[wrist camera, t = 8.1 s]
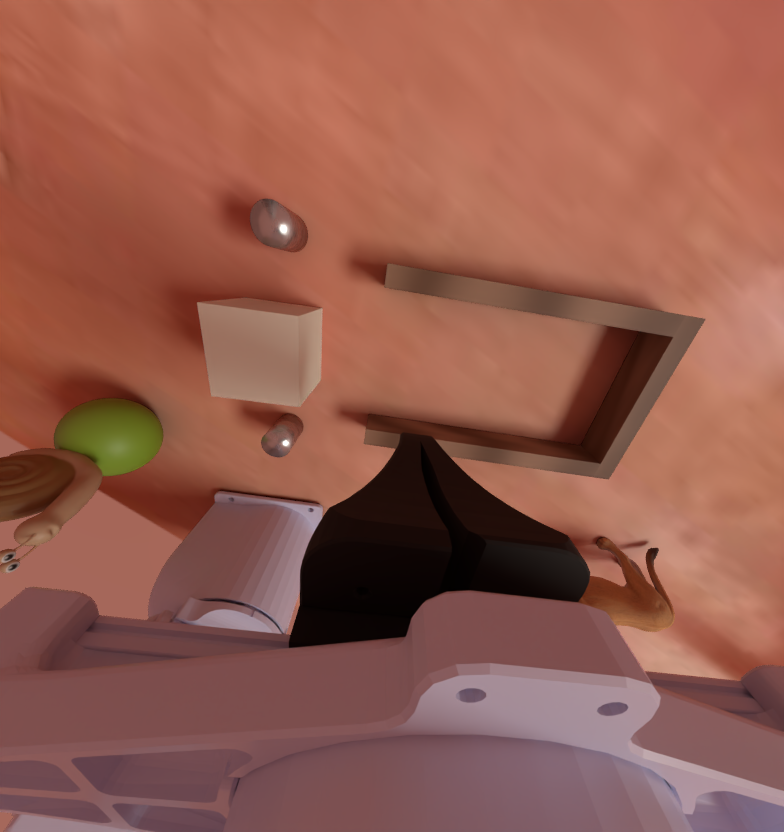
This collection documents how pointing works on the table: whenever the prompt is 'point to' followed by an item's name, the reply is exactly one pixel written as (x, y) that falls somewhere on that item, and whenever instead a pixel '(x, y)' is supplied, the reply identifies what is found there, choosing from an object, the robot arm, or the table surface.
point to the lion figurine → (631, 594)
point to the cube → (261, 349)
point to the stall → (620, 409)
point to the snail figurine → (73, 468)
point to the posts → (290, 235)
